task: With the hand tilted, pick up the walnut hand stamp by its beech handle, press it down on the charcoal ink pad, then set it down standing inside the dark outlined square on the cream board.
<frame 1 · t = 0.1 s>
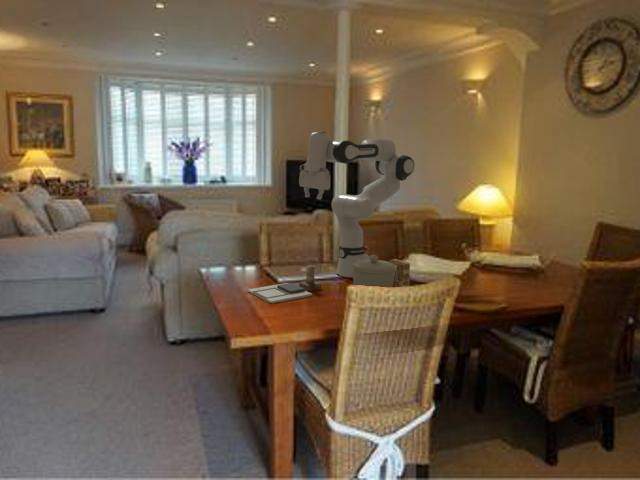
hand: (313, 198, 240), 39 cm above the table, tool pointing down, fingers open, 8 cm apart
stamp: (310, 288, 235), on the table
canister: (372, 307, 211), on the table
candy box: (398, 296, 225), on the table
stamp board: (279, 293, 226), on the table
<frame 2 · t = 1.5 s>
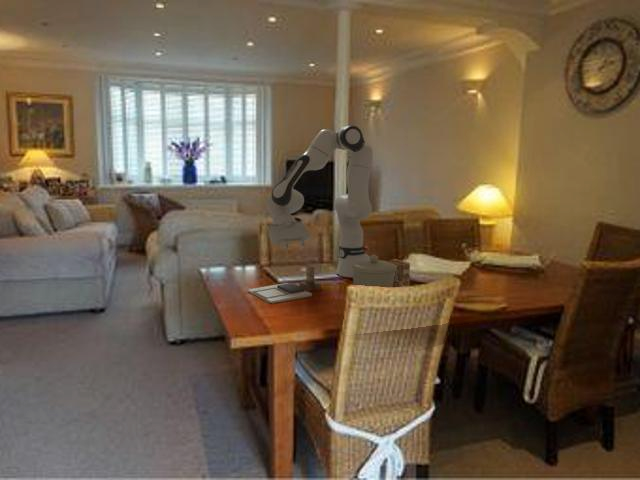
hand: (295, 248, 242), 16 cm above the table, tool tilted 45°, fingers open, 8 cm apart
nothing on the table moved.
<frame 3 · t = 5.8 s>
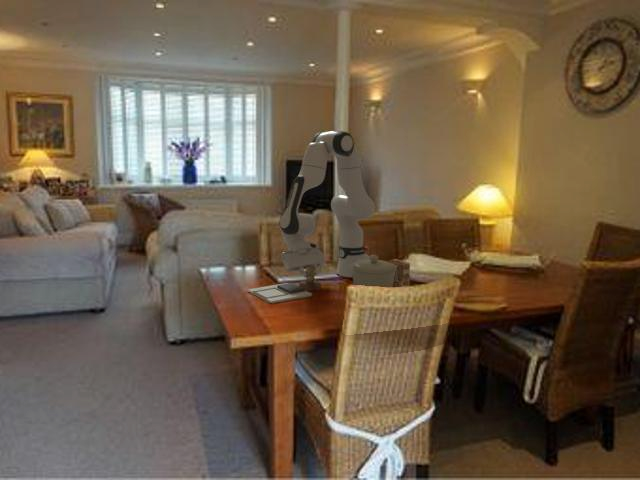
hand: (311, 275, 233), 6 cm above the table, tool tilted 45°, fingers closed on stamp, 4 cm apart
stamp: (310, 288, 235), on the table, touching gripper
everything else where it was.
when the fingers open (8 cm above the table, at t = 16.1 s): stamp drops 1 cm, resting on stamp board.
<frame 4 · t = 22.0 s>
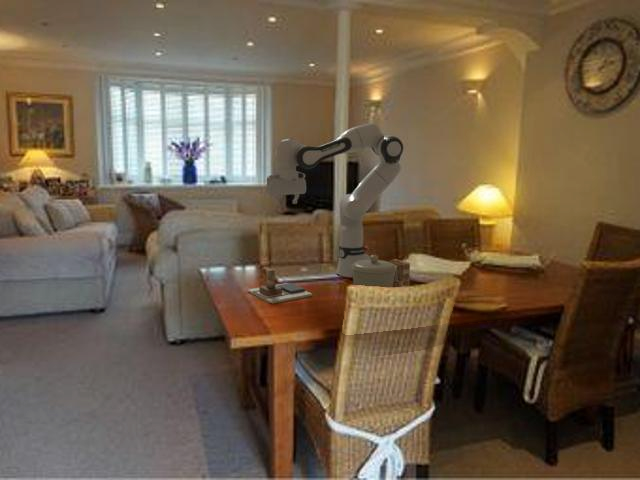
hand: (286, 204, 247), 35 cm above the table, tool pointing down, fingers open, 8 cm apart
stamp: (270, 293, 223), point 1 cm above the table, touching stamp board
everything else where it was.
at the end: stamp 0.1 cm from the target spot, point 1.0 cm above the table; stamp tilted 0°; the gripper is holding nothing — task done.
